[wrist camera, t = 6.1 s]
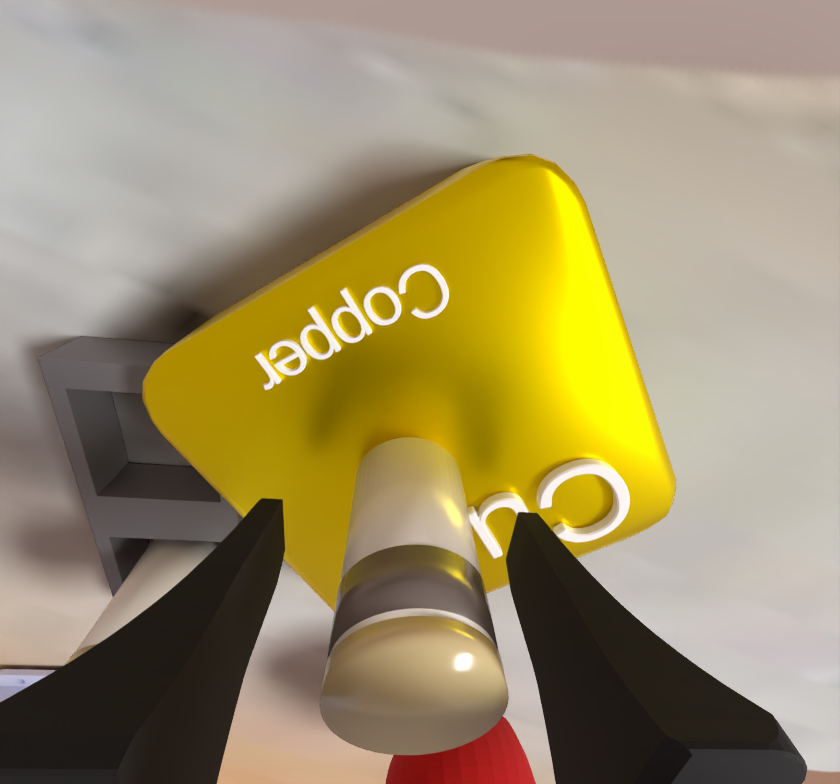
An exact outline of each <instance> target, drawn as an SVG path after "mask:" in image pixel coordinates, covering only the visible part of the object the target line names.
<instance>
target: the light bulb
mask: <svg viewBox="0 0 840 784" xmlns="http://www.w3.org/2000/svg"><path fill="white" fill-rule="evenodd" d="M386 784H536V783H535V780H534V777H533V774H532V771H531V768H530V765H529V762H528V759H527V757H526V754H525V752H524V750H523V748H522V746H521V744H520V742H519V740H518V738H517V736H516V734H515V732H514V730H513V729H512V727H511V725H510V724H509V722H508V721H507V719H506V718H504V717H503V716H502V717H501V719H500V720H499V721H498V723H497V724H496V725H495V726H494V727H493V728H491V729H490V730H489V731H488V732H486V733H485V734H484V735H482V736H481V737H479V738H477V739H475V740H473V741H471V742H469V743H467V744H464V745H462V746H459V747H456V748H453V749H450V750H446V751H442V752H436V753H431V754H422V755H394V756H393V758H392V760H391V763H390V766H389V770H388V774H387V778H386Z"/></svg>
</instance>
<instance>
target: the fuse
mask: <svg viewBox="0 0 840 784" xmlns="http://www.w3.org/2000/svg"><path fill="white" fill-rule="evenodd" d="M220 543H221V542H209V541H187V540H165V539H153V540H152V542H151V543H150V545H149V546H148V548H147V549H146V550H145V552H144V553H143V555H142V556H141V558H140V559H139V561H138V562H137V563H136V565H135V566H134V568H133V569H132V571H131V572H130V574H129V575H128V577H127V578H126V579H125V581H124V582H123V584H122V585H121V587H120V588H119V590H118V591H117V593H116V594H115V595H114V597H113V598H112V600H111V601H110V603H109V604H108V606H107V607H106V609H105V610H104V611H103V613H102V614H101V616H100V617H99V619H98V620H97V622H96V623H95V625H94V626H93V627H92V629H91V630H90V632H89V633H88V635H87V636H86V638H85V639H84V641H83V642H82V643H81V645H80V646H79V648H78V649H77V651H76V652H75V653H74V654H73V655H72V656H71V657H70V658H69V660H68V661H67V663H66V664H68V663H69V662H71V661H72V660H74V659H75V658H77V657H79V656H80V655H82V654H83V653H85V652H86V651H88V650H89V649H91V648H92V647H94V646H95V645H97V644H98V643H100V642H101V641H103V640H104V639H106V638H107V637H109V636H110V635H112V634H113V633H115V632H116V631H118V630H119V629H120V628H122V627H123V626H124V625H126V624H127V623H129V622H130V621H131V620H133V619H134V618H135V617H136V616H138V615H139V614H140V613H142V612H143V611H144V610H146V609H147V608H148V607H150V606H151V605H152V604H154V603H155V602H156V601H157V600H158V599H160V598H161V597H162V596H163V595H165V594H166V593H167V592H168V591H169V590H171V589H172V588H173V587H174V586H175V585H176V584H178V583H179V582H180V581H181V580H182V579H183V578H184V577H186V576H187V575H188V574H189V573H190V572H191V571H192V570H193V569H194V568H195V567H196V566H197V565H198V564H199V563H200V562H202V561H203V560H204V559H205V558H206V557H207V556H208V555H209V554H210V553H211V552H212V551H213V550H214V549H215V548H216V547H217V546H218V545H219V544H220ZM66 664H65V665H66Z"/></svg>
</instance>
